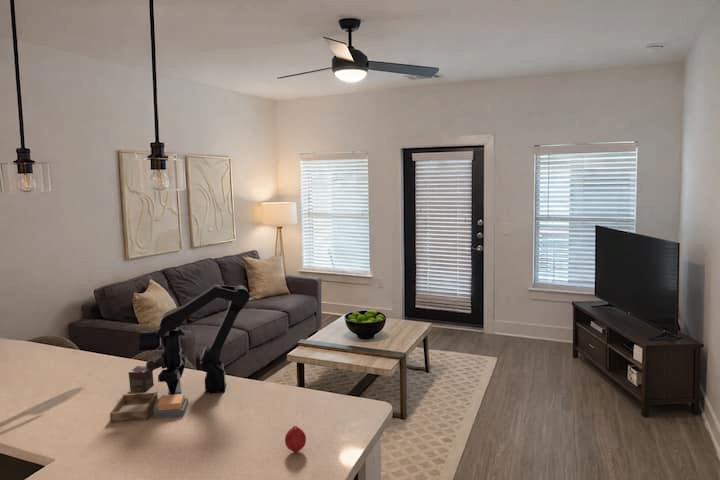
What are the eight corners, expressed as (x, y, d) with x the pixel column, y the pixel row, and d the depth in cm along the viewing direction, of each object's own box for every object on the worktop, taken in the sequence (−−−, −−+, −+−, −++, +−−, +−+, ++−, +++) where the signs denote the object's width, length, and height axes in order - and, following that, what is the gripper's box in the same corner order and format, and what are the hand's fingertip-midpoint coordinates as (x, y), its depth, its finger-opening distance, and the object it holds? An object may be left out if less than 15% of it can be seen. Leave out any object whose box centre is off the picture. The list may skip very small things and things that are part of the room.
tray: (157, 400, 176) (157, 392, 176) (147, 419, 162) (146, 410, 162) (124, 402, 174) (123, 394, 174) (110, 422, 161) (109, 413, 160)
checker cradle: (188, 403, 173) (188, 397, 173) (183, 415, 164) (183, 409, 164) (160, 405, 172) (160, 400, 172) (154, 418, 163) (154, 412, 163)
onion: (286, 447, 145) (285, 420, 144) (306, 446, 145) (305, 419, 144) (284, 458, 139) (283, 430, 138) (306, 457, 140) (305, 429, 139)
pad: (184, 399, 172) (184, 393, 172) (180, 408, 165) (180, 402, 165) (162, 401, 171) (162, 395, 171) (158, 410, 164) (157, 404, 164)
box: (154, 385, 189) (152, 366, 188) (145, 392, 183) (144, 372, 182) (138, 384, 189) (137, 365, 188) (129, 391, 183) (128, 372, 182)
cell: (182, 391, 183) (181, 371, 182) (180, 397, 178) (178, 376, 177) (169, 392, 182) (168, 372, 181) (167, 398, 178) (165, 377, 177)
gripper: (154, 340, 186) (156, 381, 188) (140, 359, 168) (143, 404, 170) (185, 338, 188) (188, 379, 190) (175, 357, 169) (178, 401, 171)
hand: (174, 390), depth 180 cm, fingers open, 6 cm apart
